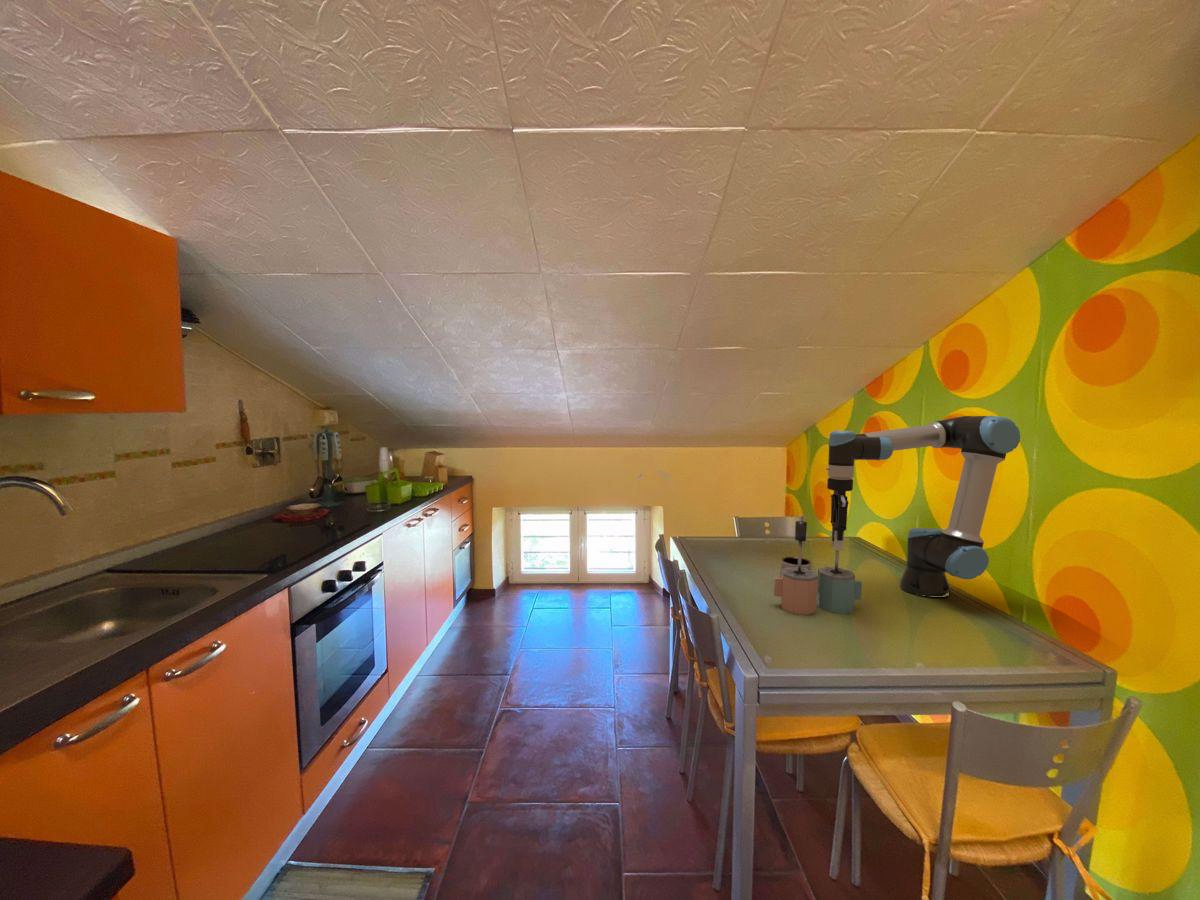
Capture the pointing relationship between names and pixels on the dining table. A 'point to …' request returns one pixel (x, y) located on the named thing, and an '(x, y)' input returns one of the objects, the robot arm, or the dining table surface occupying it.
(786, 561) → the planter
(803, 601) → the pot terracotta
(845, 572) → the pot teal
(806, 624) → the dining table surface
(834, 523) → the dark brown cylinder-topped rod
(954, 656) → the dining table surface
